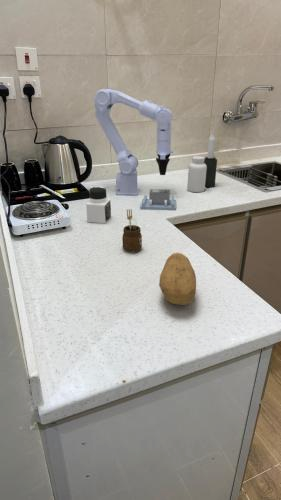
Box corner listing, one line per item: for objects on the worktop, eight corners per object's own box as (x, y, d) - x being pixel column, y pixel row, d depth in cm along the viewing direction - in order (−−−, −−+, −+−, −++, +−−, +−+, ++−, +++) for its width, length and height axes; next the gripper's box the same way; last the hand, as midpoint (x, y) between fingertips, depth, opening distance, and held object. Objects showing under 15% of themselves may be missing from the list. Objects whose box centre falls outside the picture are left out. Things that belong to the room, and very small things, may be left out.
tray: (140, 209, 141) (140, 200, 140) (142, 200, 150) (142, 192, 149) (175, 210, 140) (175, 201, 139) (175, 201, 149) (176, 193, 147)
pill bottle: (206, 192, 160) (208, 159, 153) (188, 192, 160) (190, 159, 153) (203, 187, 167) (206, 155, 160) (186, 187, 167) (188, 155, 160)
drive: (149, 204, 143) (149, 192, 141) (150, 201, 147) (150, 189, 145) (169, 205, 142) (169, 193, 140) (169, 201, 146) (170, 189, 144)
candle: (200, 185, 170) (204, 130, 159) (209, 184, 172) (214, 130, 161) (206, 188, 166) (211, 132, 155) (215, 186, 168) (221, 131, 156)
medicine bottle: (106, 223, 128) (104, 191, 123) (87, 222, 130) (84, 190, 124) (111, 216, 134) (110, 185, 129) (93, 215, 136) (91, 184, 130)
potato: (156, 315, 80) (157, 280, 76) (161, 279, 94) (162, 247, 90) (195, 317, 79) (198, 282, 75) (194, 281, 93) (196, 249, 89)
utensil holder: (125, 254, 107) (124, 217, 101) (120, 245, 112) (119, 209, 107) (144, 252, 108) (144, 215, 103) (138, 243, 114) (138, 207, 108)
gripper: (173, 143, 140) (172, 177, 146) (173, 137, 153) (172, 168, 159) (155, 143, 141) (154, 176, 147) (157, 136, 154) (156, 168, 160)
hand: (163, 172), depth 153 cm, fingers open, 7 cm apart
